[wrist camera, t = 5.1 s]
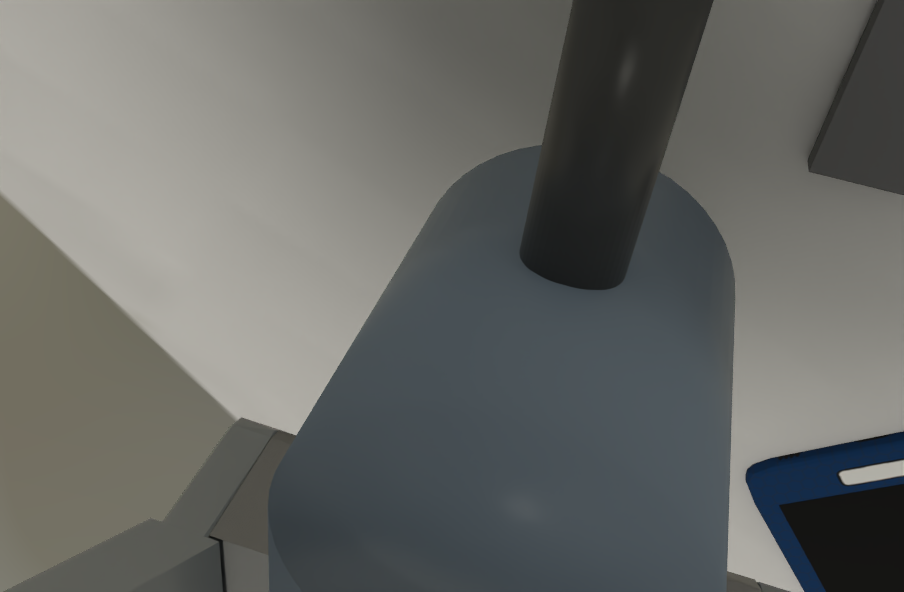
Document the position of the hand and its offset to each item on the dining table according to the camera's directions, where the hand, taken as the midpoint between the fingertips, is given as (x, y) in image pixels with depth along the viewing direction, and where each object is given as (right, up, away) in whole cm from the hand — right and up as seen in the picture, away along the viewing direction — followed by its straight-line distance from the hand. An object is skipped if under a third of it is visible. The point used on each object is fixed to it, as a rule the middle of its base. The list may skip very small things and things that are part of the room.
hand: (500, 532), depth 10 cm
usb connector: (0, +1, +1) cm, 2 cm away
